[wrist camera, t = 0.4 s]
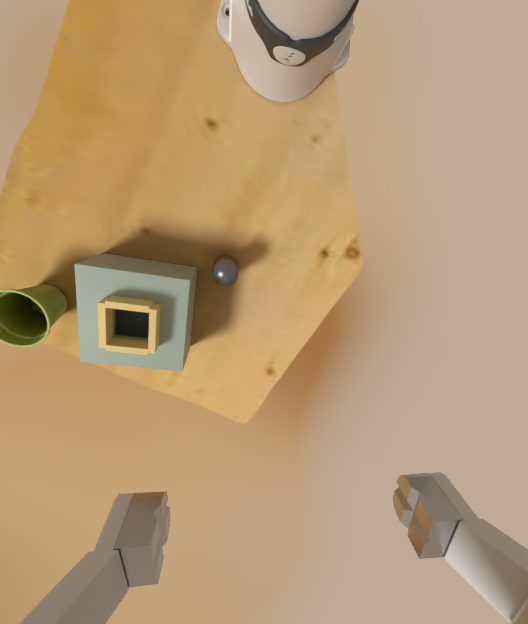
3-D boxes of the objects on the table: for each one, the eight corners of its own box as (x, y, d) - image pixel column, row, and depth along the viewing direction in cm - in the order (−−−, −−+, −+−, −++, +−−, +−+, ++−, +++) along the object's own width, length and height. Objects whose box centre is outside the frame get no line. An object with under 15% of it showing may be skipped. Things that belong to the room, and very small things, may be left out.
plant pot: (81, 283, 50) (51, 299, 42) (75, 330, 53) (46, 353, 45) (22, 267, 48) (-21, 281, 40) (19, 317, 51) (-21, 338, 43)
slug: (216, 253, 50) (213, 259, 44) (238, 256, 50) (239, 263, 45) (214, 275, 51) (211, 284, 46) (235, 278, 52) (235, 287, 46)
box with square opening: (102, 252, 48) (64, 267, 37) (197, 267, 50) (187, 284, 40) (104, 336, 54) (71, 370, 43) (190, 346, 56) (179, 380, 45)
